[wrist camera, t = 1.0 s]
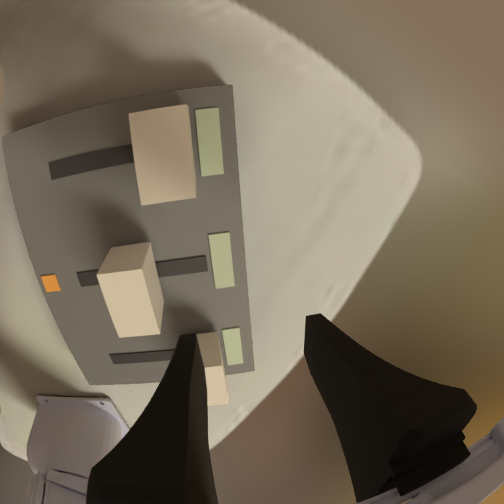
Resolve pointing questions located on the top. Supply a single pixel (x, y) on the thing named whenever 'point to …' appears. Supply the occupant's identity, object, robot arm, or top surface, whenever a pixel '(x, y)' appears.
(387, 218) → the top surface
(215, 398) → the block
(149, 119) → the block
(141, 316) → the breaker
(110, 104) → the breaker panel
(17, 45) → the top surface
